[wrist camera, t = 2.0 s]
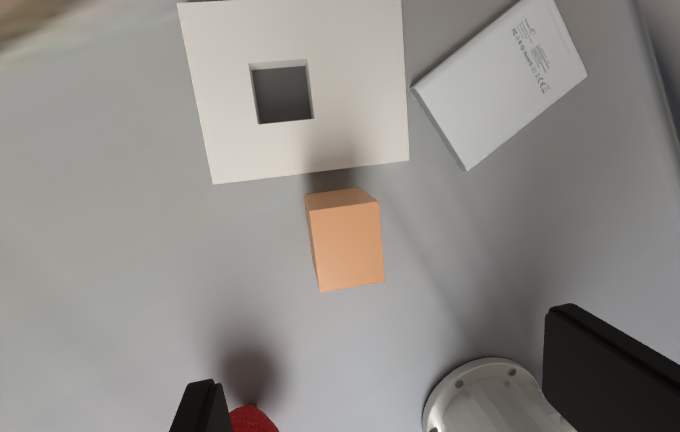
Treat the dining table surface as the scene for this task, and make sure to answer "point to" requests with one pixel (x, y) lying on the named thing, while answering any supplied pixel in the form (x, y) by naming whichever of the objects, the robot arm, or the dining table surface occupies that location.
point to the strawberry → (251, 420)
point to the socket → (297, 84)
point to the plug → (345, 238)
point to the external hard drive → (500, 80)
